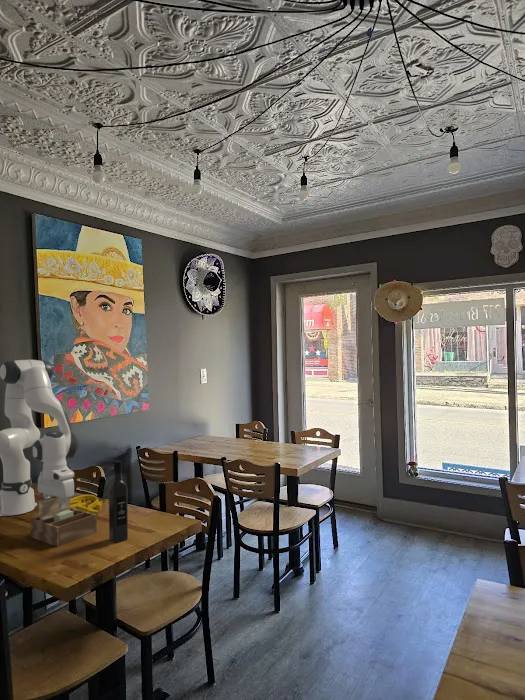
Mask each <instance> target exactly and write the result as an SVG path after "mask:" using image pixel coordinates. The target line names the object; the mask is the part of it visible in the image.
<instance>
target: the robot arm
mask: <svg viewBox="0 0 525 700" xmlns="http://www.w3.org/2000/svg"><path fill="white" fill-rule="evenodd" d="M53 375H54V368H53V365H52V363H51V362H49V361H47V360H43V359H41V360H39V359H38V360H37V359H19V360H18V359H17V360H13V359H9V360H6V361H3V363H1V365H0V380H1V381H2V382H3V383H6V388H5V393H4V415H5V416H6V418H8V419H9V420H10V426H11V427H9V428H4V429H1V430H0V459H1V463H2V471H3V472H2V474H3V477H2V479H3V481H1V483H0V484H1V488H0V517H4V516H15V515H21V514H25V513H29V512H31V511H33V510H35V508H36V507H37V506H38V503H37V502H36V501H35V492H34V488H32V482H33V481H32V478H31V462H30V460H28V459H27V458H26V456H25V454H24V449H27V448H30V447H31V457H32V458H33V459H34V460H35V461H37V462H43V464H42V470H41V471H40V472H39V476H38V479H37V491H38V493H40V494H43V497H44V498H43V499H47V498H50V497H54V496H55V497H59V498H60V500H61V503H60V504H59V508H61V509H63V508H65V503H66V501H67V499H68V498H70V499H72V498H74V494H75V482H74V481H75V480H74V479H73V478H74V477H75V472H74V471H73V470H71V469H70V468H69V467H68V466H67V465H68V463H67V459H73V458H74V457H75V456H76V455H77V454H78V452H79V451H80V443H79V440H78V438H77V436H76V433H75V431H74V429H73V426H72V424H71V420H70V418H69V416H68V413H67V411H66V408H65V405H64V404H63V402H62V401H61V400H58V399H57V397H56V396H55V394H54V392H53V388H52V383H51V379H52V378H53ZM32 411H34V412H37V413H41V414H45V415H49V416H50V417H52V418H54V419H55V421H56V422H57V424H58V428H59V431H57V430H56V431H55V430H53V431H52V430H51V431H48V432H46V433H44V435H43V437H42V438H41V431H40V430H39V428H38V427H37V426H36V425H35V422H34V418H33V415H32V414H33V413H32Z"/></svg>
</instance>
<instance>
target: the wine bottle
mask: <svg viewBox="0 0 525 700" xmlns="http://www.w3.org/2000/svg"><path fill="white" fill-rule="evenodd" d="M122 464H123V461H122V460H114V461H113V469H114V471H113V472H114V473H113V474H114V475H113V476H114V477H113V478H114V479H113V481H111V483H110V484H109V487H108V523H109V524H108V526H109V527H108V530H109V531H108V533H109V534H108V535H109V541H112V543H116V544H117V543H120V542H124V541H126V540H128V538H129V526H128V525H129V521H128V520H129V519H128V518H129V517H128V516H129V515H128V513H129V512H128V511H129V509H128V486H127V484H126V482H125V481H124V480H123V477H122V475H123V474H122V472H123V471H122V470H123V469H122V467H123V465H122Z"/></svg>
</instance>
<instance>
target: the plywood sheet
mask: <svg viewBox="0 0 525 700" xmlns="http://www.w3.org/2000/svg"><path fill="white" fill-rule="evenodd" d="M70 499H71V498H68V499H67V501H66V503H65V508H63V509H61V508H59V504H60V503H61V500H60V498H59V497H55V496H50V498H47V499H45V498H43V499H40V500H39V502H38V505H39V506H38V507H39V512H38V513H39V516H38V517H39V520H40V521H41V520H44V519H48V518H51V517H54V514H56V513H59V512H62V511H65V510H70Z"/></svg>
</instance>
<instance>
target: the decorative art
mask: <svg viewBox="0 0 525 700" xmlns="http://www.w3.org/2000/svg"><path fill="white" fill-rule="evenodd" d="M99 500H100V499H98V497H97V496H96V495H95V494H94V495H93V494H82V495H78V496H75V497H74V496H73V497H71V498H70V507H71V508H74V509H78V510H82V511H86V512H89V513H93V514H97V518H99V511H101V510H102V507H103V500H100V501H99Z"/></svg>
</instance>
